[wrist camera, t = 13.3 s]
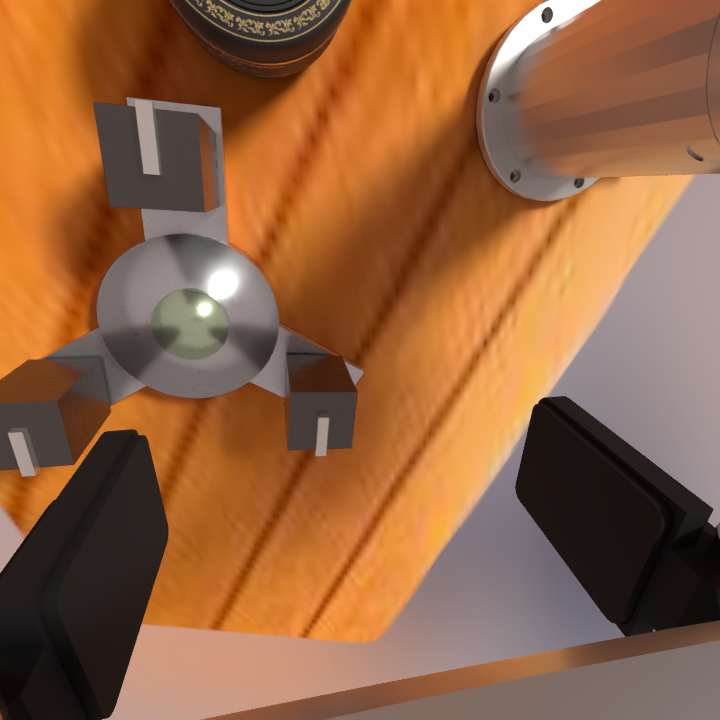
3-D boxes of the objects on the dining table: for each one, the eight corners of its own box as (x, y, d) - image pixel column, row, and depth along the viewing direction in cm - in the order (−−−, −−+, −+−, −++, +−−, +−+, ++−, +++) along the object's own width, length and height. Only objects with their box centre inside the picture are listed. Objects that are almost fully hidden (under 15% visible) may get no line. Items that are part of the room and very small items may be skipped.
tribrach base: (380, 128, 28) (390, 122, 25) (358, 412, 36) (364, 428, 34) (-77, 77, 22) (-118, 64, 20) (25, 428, 31) (5, 448, 28)
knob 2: (218, 207, 26) (203, 213, 20) (145, 202, 25) (105, 207, 19) (213, 127, 25) (195, 106, 18) (135, 118, 24) (87, 94, 17)
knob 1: (28, 359, 28) (-42, 409, 21) (99, 357, 28) (52, 405, 22) (45, 417, 29) (-16, 479, 23) (111, 414, 30) (71, 472, 24)
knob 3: (286, 354, 31) (290, 396, 25) (341, 355, 32) (359, 395, 26) (284, 406, 33) (287, 457, 27) (337, 406, 34) (352, 454, 28)
